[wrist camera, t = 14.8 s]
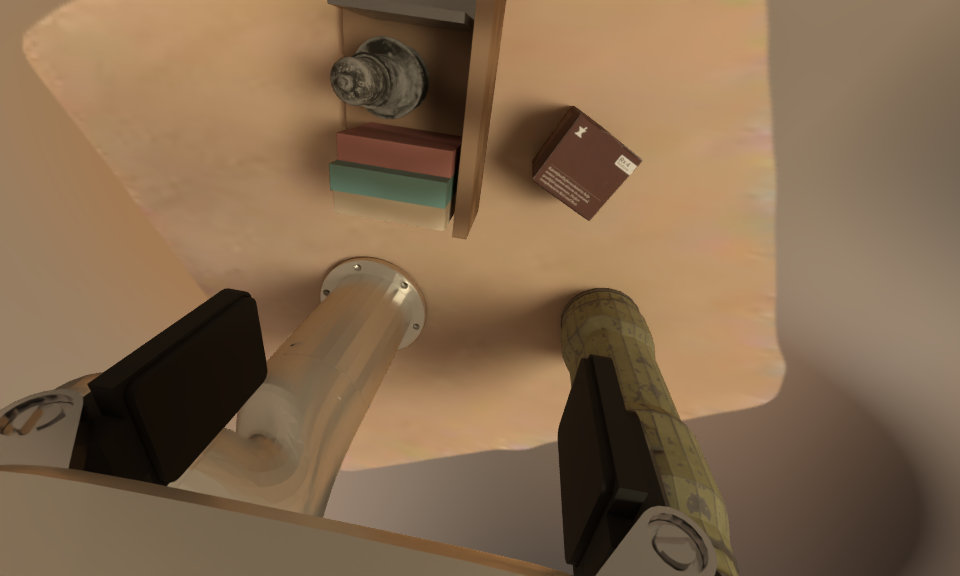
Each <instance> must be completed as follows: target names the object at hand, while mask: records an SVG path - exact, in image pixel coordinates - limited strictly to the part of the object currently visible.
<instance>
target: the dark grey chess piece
mask: <svg viewBox="0 0 960 576" xmlns="http://www.w3.org/2000/svg"><path fill="white" fill-rule="evenodd" d="M330 80H331V85H332V88H333V90H334V92H335V93H336V95H337V96H338V97H339V98H340V99H341V100H342V101H343V102H345V103H347V104H349V105H353V106H363V107H365V108H366V109H367V110H368V111H369V112H370V113H372V114H373V115H375V116H377V117H380V118H383V119H398V118H401V117H404V116H406V115H407V114H409V113H410V112H411V111H412V110H413V109H415V108H416V107H418V106H419V105H420V104H421V103H422V102H423V101H424V99H425V97H426V95H427V93H428V89H429V72H428V69H427V66H426V64H425V62H424V60H423V58H422V57H421V56H420V54H419V53H418V52H417V51H416V50H414V49H413V48H411V47H410V46H408V45H405V44H404V43H402V42H400V41H399V40H397V39H395V38H391V37H388V36H376V37H373V38H371V39H368V40H366V41H365V42H364V43H363V44H362V45H360V46H359V48H358V49H357V51H356V52H355V54H354V55H353V56H351V57H344V58H341V59H339V60H338V61H337V62H336V63H335V64H334V65H333V67H332V70H331V75H330Z"/></svg>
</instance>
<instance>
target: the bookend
mask: <svg viewBox="0 0 960 576" xmlns="http://www.w3.org/2000/svg"><path fill="white" fill-rule="evenodd" d="M476 1H477V0H327V2H328V4H330V5H333V6H336V7H339V8H342V9H345V10H348V11H351V12H354V13H357V14H360V15H363V16H366V17H369V18H373V19H379V20H386V21H393V22H400V23H407V24H413V25H420V26H427V27H434V28H441V29H448V30H454V31H461V32H468V33H473V30H474V21H475V11H476Z"/></svg>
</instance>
